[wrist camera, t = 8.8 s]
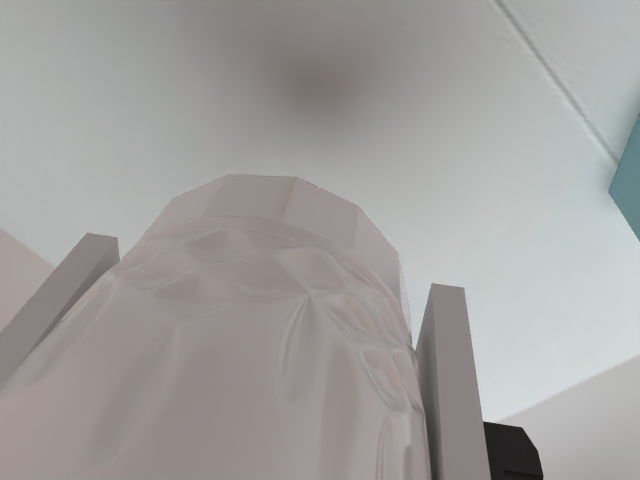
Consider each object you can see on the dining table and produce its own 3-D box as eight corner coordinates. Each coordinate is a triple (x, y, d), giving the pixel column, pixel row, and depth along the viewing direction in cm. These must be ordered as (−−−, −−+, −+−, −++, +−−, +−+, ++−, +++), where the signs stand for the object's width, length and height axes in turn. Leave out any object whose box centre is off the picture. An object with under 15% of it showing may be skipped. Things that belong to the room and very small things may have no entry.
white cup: (89, 333, 17) (-238, 816, 8) (170, 82, 12) (-327, 541, 4) (345, 439, 18) (287, 967, 9) (498, 240, 13) (652, 871, 5)
